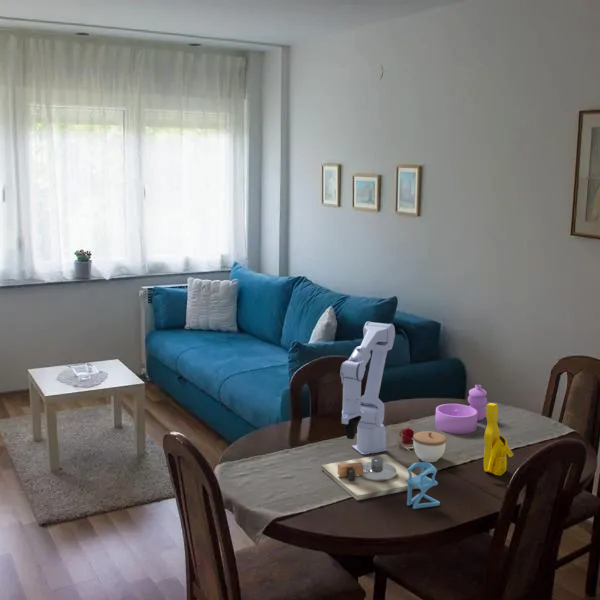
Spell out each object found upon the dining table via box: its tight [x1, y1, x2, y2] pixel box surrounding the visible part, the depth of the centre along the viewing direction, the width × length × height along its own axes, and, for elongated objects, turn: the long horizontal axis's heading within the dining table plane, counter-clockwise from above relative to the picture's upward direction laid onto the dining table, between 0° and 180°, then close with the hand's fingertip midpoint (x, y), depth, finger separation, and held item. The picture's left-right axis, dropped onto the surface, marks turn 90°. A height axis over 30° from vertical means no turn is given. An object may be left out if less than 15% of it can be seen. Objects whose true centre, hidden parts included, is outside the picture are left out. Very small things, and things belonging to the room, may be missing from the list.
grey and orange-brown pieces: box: [338, 458, 396, 481], centre depth 231 cm, size 18×12×4 cm, turn 105°
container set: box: [434, 384, 488, 435], centre depth 281 cm, size 25×15×13 cm, turn 133°
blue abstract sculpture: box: [406, 461, 441, 510], centre depth 215 cm, size 8×8×12 cm
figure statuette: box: [483, 402, 514, 476], centre depth 237 cm, size 18×8×22 cm, turn 140°
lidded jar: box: [412, 430, 447, 463], centre depth 248 cm, size 11×11×9 cm
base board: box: [320, 453, 418, 501], centre depth 233 cm, size 24×24×4 cm
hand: (350, 438), depth 240 cm, fingers closed
